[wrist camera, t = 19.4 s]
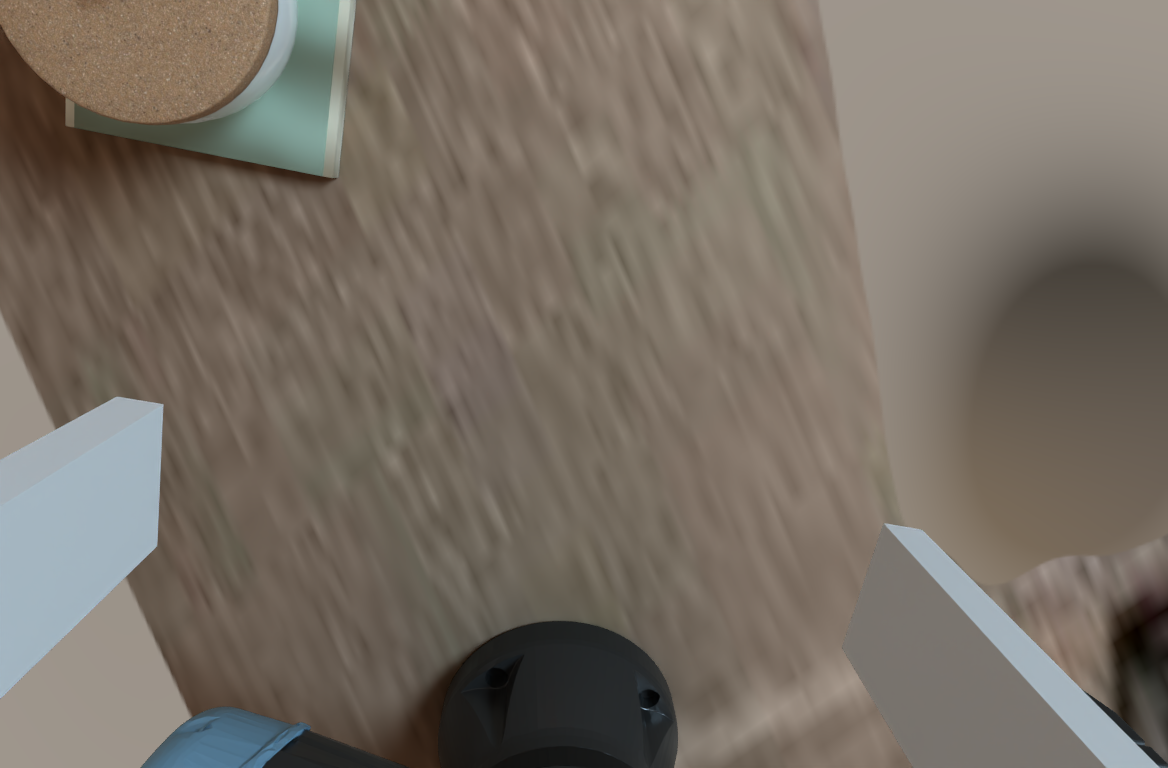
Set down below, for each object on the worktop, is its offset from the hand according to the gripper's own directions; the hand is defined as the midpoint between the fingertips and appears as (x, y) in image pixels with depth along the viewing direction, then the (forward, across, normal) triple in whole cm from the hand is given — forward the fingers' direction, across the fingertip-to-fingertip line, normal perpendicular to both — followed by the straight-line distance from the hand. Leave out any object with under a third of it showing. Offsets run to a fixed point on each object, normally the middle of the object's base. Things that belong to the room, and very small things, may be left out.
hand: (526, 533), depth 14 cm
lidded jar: (+28, +18, -10) cm, 34 cm away
